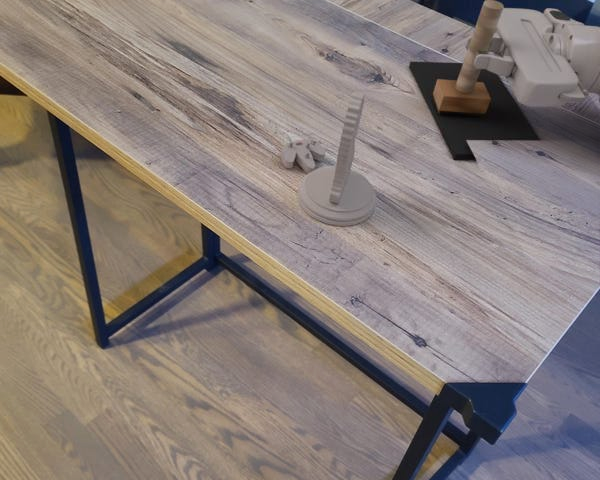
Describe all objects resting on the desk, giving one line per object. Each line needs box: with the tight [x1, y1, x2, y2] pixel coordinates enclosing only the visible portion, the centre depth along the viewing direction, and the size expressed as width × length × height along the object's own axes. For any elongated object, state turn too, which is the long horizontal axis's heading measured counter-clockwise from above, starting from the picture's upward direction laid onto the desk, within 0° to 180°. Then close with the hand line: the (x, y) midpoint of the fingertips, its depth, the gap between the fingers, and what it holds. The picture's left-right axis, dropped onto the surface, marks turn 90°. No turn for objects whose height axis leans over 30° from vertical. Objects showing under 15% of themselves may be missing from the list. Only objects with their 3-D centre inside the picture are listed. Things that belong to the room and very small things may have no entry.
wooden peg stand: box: [433, 0, 505, 116], centre depth 82 cm, size 7×4×15 cm, turn 93°
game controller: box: [268, 119, 326, 174], centre depth 78 cm, size 6×12×3 cm, turn 46°
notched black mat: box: [408, 61, 542, 161], centre depth 90 cm, size 14×24×1 cm, turn 8°
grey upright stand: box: [296, 90, 378, 227], centre depth 68 cm, size 10×10×15 cm
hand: (470, 51), depth 81 cm, fingers closed on wooden peg stand, 2 cm apart
